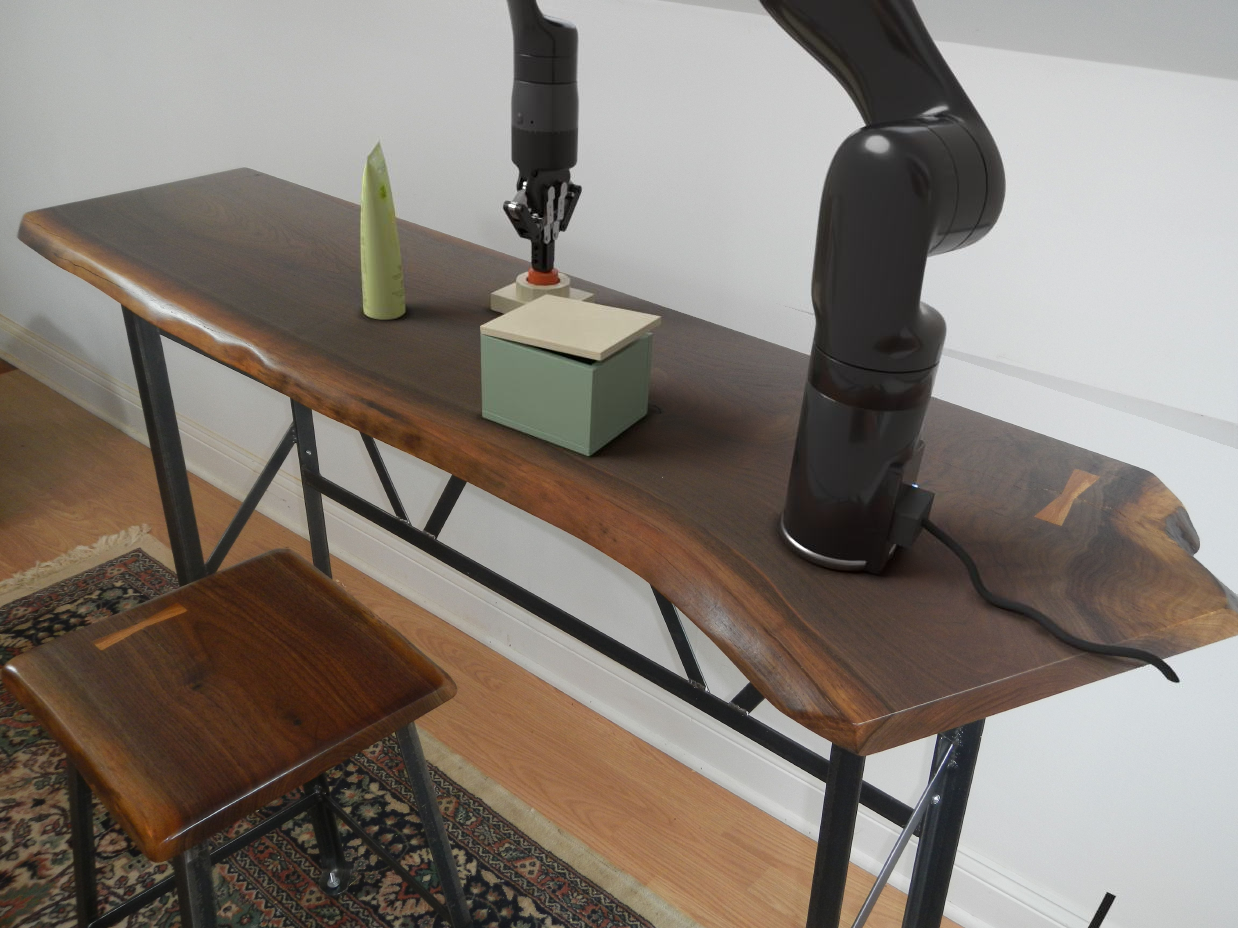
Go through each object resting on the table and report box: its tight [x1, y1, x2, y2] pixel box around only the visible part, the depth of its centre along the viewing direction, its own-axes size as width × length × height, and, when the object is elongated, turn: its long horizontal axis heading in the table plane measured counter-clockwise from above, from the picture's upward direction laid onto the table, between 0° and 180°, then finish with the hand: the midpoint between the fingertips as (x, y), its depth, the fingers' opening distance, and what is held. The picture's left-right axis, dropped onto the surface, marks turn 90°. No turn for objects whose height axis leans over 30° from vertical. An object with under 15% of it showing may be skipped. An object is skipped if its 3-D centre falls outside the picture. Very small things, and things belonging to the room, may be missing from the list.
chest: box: [480, 331, 654, 457], centre depth 93 cm, size 13×11×9 cm
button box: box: [490, 271, 596, 315], centre depth 117 cm, size 10×8×4 cm
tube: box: [360, 139, 406, 321], centre depth 110 cm, size 6×5×20 cm
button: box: [527, 267, 559, 286], centre depth 116 cm, size 4×4×2 cm
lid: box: [479, 294, 662, 361], centre depth 90 cm, size 13×11×1 cm
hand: (542, 270), depth 116 cm, fingers closed
